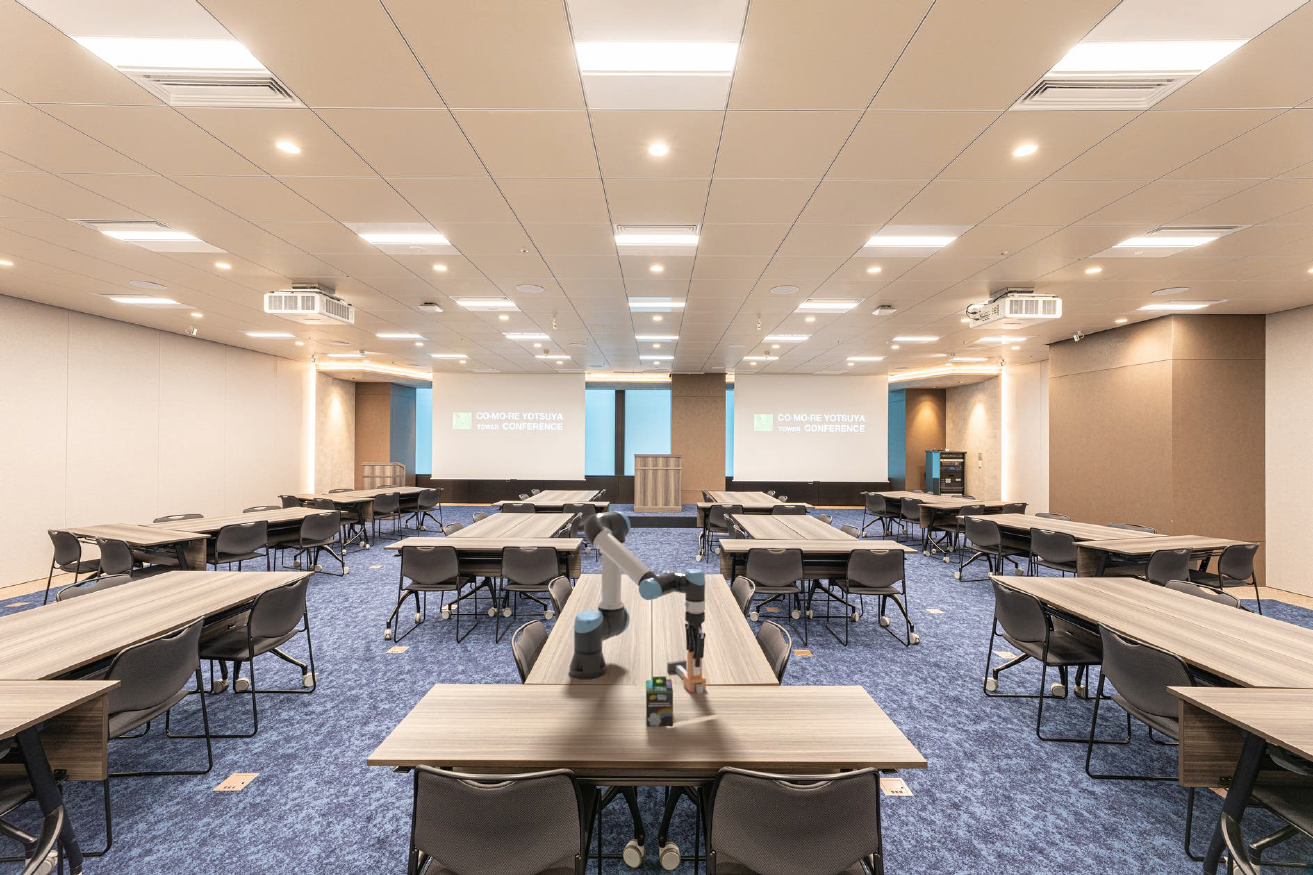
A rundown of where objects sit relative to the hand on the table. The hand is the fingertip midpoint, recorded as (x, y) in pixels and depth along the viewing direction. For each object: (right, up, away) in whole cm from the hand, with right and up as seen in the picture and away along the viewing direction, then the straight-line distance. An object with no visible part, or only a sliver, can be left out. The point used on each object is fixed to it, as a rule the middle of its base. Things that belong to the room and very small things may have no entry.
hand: (694, 672), depth 189 cm
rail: (-2, -7, +5) cm, 9 cm away
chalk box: (-14, -6, -22) cm, 26 cm away
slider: (0, -5, 0) cm, 5 cm away
